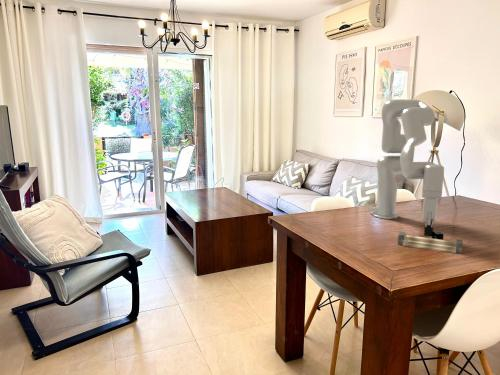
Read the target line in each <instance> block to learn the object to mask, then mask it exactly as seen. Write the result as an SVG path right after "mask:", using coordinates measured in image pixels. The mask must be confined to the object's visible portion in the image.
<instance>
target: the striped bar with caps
mask: <svg viewBox="0 0 500 375" xmlns="http://www.w3.org/2000/svg"><path fill="white" fill-rule="evenodd" d="M463 244H464V243H463V239H459V238H456V241H452V240H446V239H443V240H439V239H432V237H422V236H415V235H408V234H406V232H405V231H399V233H398V237H397V245H401V246H403V247H411V248H417V249H425V250H430V251H431V250H432V251H438V252H444V253H445V252H446V253H449V254H450V253H451V254H452V253H453V254H462V253H463Z"/></svg>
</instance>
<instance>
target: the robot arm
mask: <svg viewBox="0 0 500 375" xmlns="http://www.w3.org/2000/svg"><path fill="white" fill-rule="evenodd" d="M399 118H400V119H401V121H400V120H399ZM435 119H436V115H435V112H434V110H433V108H431V106H429V105H428V104H426V103H425V102H423V101H421V100H419V99H400V98H399V99H391V100H386V101H385V102H384V103H383V105H382V107H381V120H382V134H381V150H382V152H383V153H386V154H399V155H385V156H384V155H383V156H380V157H379V158H378V159H377V160H376V161H377V162H376V168H377V169H376V170H377V171H376V172H377V192H376V193H377V194H376V206H370V205H369V206H368V207H367V210H368V211H370V212H372V216H373V217H375V218H379V219H385V220H387V219H388V220H392V219H398V218H399V213H397V211H396V209H397V208H396V207H397V197H398V196H397V193H398V182H397V179H396V178H395V176H394V175H403V177H404V178H405V179H407V180H422V189H421V197H422V198H424V199H423V205H422V215H421V216H422V217H421V221H422V222H424V221H425V224H424V229H423V230H424V233H423V235H424V236H425V237H429V238H432V233H433V231H434V222H435V221H436V217H437V213H438V203H439V200H440V199H442V198H443V186H444V176H445V167H444V166H443V165H441V164H436V163H434V162H433V161H432V162H431V161H414V156H415V148H416V147H417V146H420V145H422V144H423V143H425V141H427V133H426V129H425V127H427V126H431V125H432V124H434V122H435ZM401 123H402V124H401ZM402 127H403V128H402ZM402 129H403V133H401V130H402Z"/></svg>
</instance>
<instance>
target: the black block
mask: <svg viewBox="0 0 500 375" xmlns="http://www.w3.org/2000/svg"><path fill="white" fill-rule="evenodd" d="M431 238H432V239H439V240H444V233H443V232H442V231H440V230H433V233H432V237H431Z"/></svg>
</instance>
